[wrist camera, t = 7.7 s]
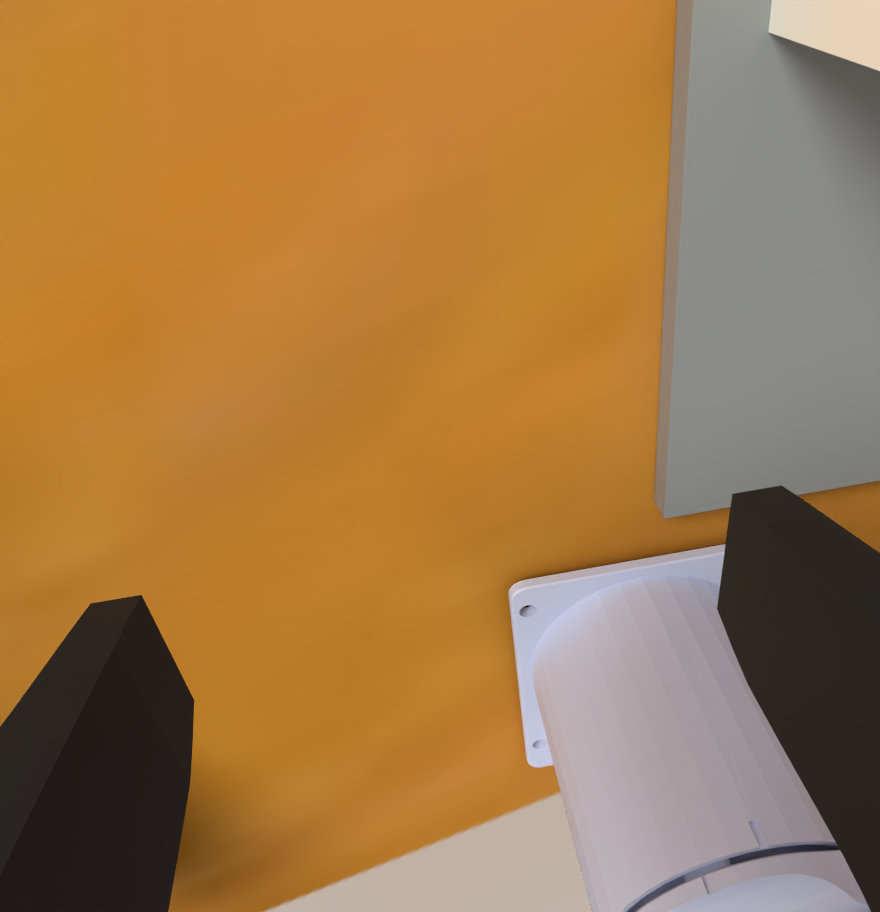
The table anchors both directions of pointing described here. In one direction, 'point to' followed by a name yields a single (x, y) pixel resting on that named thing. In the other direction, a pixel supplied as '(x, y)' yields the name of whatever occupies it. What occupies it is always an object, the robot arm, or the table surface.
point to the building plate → (767, 265)
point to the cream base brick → (831, 27)
